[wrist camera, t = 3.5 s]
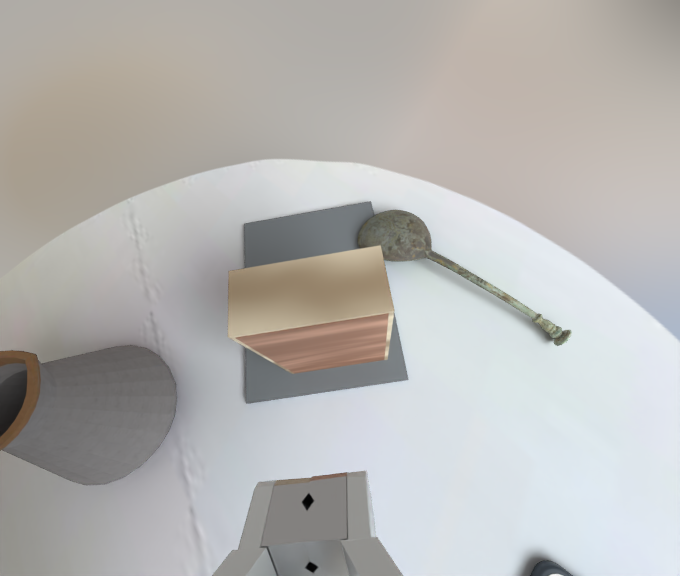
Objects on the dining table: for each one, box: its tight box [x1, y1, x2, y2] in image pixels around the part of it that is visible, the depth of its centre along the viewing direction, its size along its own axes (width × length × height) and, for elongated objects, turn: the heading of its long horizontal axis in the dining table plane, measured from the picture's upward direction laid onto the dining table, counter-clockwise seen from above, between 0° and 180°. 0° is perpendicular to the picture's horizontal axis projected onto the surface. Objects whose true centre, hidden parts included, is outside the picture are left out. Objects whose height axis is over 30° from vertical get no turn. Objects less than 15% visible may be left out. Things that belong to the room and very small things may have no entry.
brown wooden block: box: [228, 245, 394, 374], centre depth 24 cm, size 4×9×14 cm, turn 97°
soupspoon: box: [358, 210, 572, 346], centre depth 31 cm, size 22×3×7 cm
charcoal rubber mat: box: [244, 201, 408, 403], centre depth 33 cm, size 20×15×1 cm
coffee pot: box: [0, 345, 177, 485], centre depth 25 cm, size 21×12×15 cm, turn 56°
